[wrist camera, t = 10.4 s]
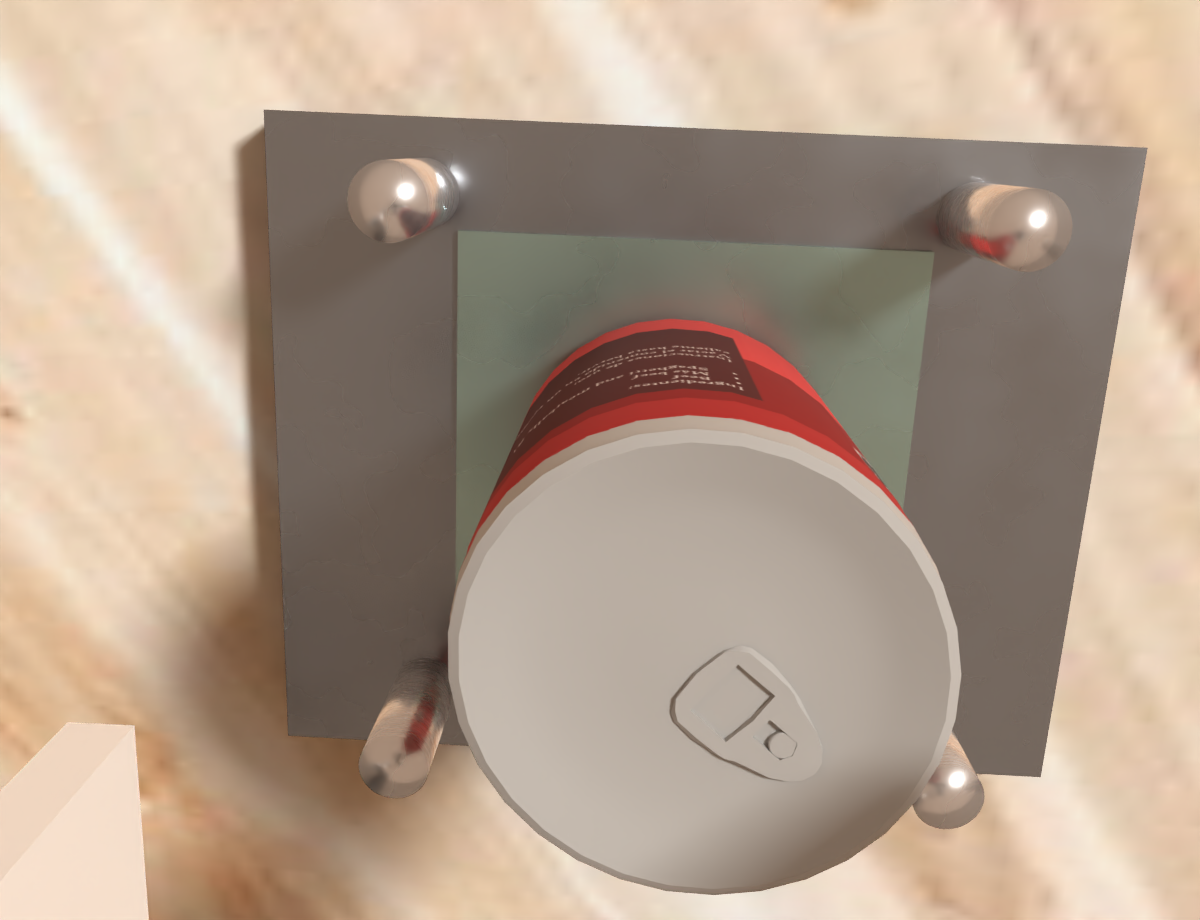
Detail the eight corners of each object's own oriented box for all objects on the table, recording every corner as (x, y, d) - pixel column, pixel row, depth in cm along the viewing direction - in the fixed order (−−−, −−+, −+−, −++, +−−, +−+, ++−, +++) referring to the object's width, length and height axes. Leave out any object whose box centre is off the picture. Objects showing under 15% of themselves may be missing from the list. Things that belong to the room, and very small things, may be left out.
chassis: (304, 708, 31) (236, 823, 26) (283, 111, 27) (196, 103, 22) (1021, 747, 31) (1101, 872, 26) (1119, 147, 26) (1240, 148, 21)
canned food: (746, 667, 29) (809, 973, 18) (464, 531, 28) (357, 768, 17) (900, 408, 27) (1074, 582, 16) (602, 255, 26) (578, 330, 15)
